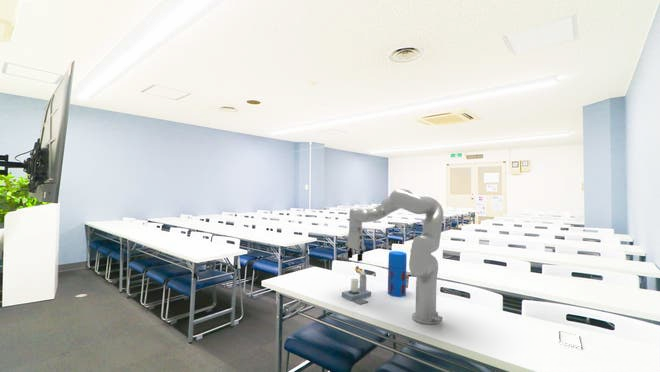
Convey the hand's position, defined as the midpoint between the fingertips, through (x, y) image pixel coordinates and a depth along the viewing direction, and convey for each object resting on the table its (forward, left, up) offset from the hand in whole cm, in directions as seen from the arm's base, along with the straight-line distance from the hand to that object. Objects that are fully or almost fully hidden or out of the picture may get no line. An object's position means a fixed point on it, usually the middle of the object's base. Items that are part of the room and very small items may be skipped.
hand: (354, 259), depth 171 cm
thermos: (-10, -26, -22) cm, 36 cm away
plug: (0, 0, -22) cm, 22 cm away
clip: (+5, -9, -11) cm, 15 cm away
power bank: (-89, -46, -23) cm, 103 cm away
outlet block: (0, -2, -22) cm, 22 cm away
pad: (-8, +2, -22) cm, 24 cm away
